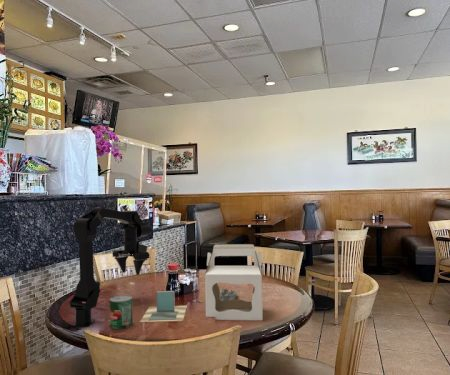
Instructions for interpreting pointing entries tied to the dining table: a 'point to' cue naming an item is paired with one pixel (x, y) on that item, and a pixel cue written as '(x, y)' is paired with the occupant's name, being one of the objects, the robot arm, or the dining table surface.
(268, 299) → the dining table surface
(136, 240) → the robot arm
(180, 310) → the board
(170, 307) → the tile
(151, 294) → the dining table surface
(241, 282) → the gable box
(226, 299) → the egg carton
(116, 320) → the canned tomato
